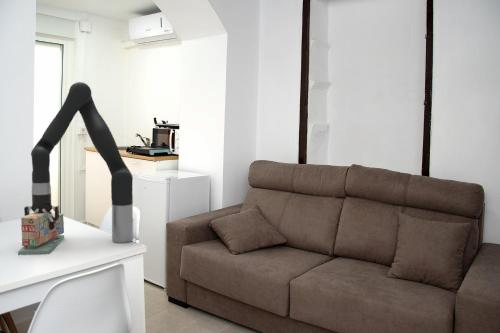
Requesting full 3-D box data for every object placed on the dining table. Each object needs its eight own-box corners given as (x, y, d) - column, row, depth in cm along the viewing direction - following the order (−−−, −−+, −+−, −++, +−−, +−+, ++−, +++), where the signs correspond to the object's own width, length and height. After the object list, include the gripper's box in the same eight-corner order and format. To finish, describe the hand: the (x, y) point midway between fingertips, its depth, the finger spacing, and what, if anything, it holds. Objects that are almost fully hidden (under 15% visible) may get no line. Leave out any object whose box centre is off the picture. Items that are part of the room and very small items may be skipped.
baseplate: (64, 238, 208) (64, 233, 207) (49, 254, 184) (49, 248, 184) (37, 238, 206) (36, 233, 206) (18, 254, 182) (18, 249, 182)
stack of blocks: (51, 232, 206) (51, 206, 205) (64, 233, 206) (63, 207, 204) (21, 245, 185) (20, 216, 184) (35, 246, 185) (34, 217, 183)
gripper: (61, 191, 197) (62, 227, 199) (26, 191, 195) (28, 227, 197) (56, 194, 190) (57, 231, 192) (20, 194, 187) (22, 232, 189)
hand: (42, 229), depth 194 cm, fingers closed on stack of blocks, 7 cm apart
